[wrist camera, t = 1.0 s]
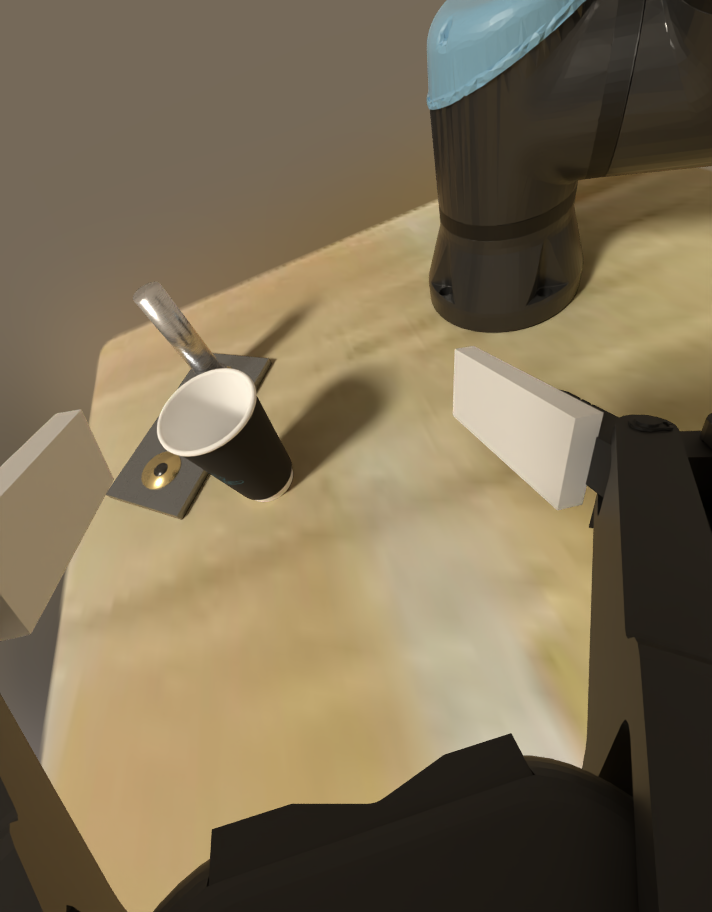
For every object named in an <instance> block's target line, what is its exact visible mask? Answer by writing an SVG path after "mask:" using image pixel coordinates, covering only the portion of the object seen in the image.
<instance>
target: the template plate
mask: <svg viewBox="0 0 712 912" xmlns="http://www.w3.org/2000/svg"><path fill="white" fill-rule="evenodd" d="M213 355H214V356H215V357H216V359H217V360H218V361H219V363H224V364H225V365H226V366H227V367H228V368H231V369H237V370H240V371H242V372H244V373H245V374H247V375H248V376H249V377H250V378H251V379H252V381H253V382H254V385H255V388H256V390H257V388H258V386H259V384H260V383H261V381H262V379H263V377H264V376H265V374H266V372H267V370H268V369H269V367H270V365H271V362H270V360H269V358H258V357H247V356H236V355H225V354H213ZM196 376H197V375H196V374H195V372H194V371H193V370H192V369H191V370H190V371H189V373H188V374H187V375H186V377H185V378H184V380H183V381H182V383H181V384H180V386H179V387H178V388H180V387H181V386H182V385H183V384H185V383H186V382H187V381H189V380H190V379H192V378H194V377H196ZM159 416H160V415H159ZM158 419H159V417H158V418H157V420H156V421H155V422H154V424H153V425H152V427H151V428H150V430H149V431H148V433H147V434H146V436H145V437H144V439H143V440H142V442H141V443H140V445H139V446H138V447H137V449H136V450H135V452H134V453H133V455H132V456H131V458H130V459H129V461H128V462H127V464H126V465H125V467H124V468H123V469H122V471H121V472H120V474H119V475H118V477H117V478H116V480H115V481H114V483H113V484H112V486H111V487H110V489H109V490H108V492H107V493H106V495H107V496H109V497H111V498H113V499H117V500H120V501H123V502H126V503H130V504H133V505H136V506H139V507H143V508H146V509H149V510H152V511H156V512H159V513H162V514H165V515H169V516H172V517H175V518H178V519H183V517H184V515H185V513H186V512H187V510H188V508H189V506H190V505H191V503H192V501H193V499H194V498H195V496H196V494H197V493H198V491H199V489H200V487H201V486H202V484H203V482H204V480H205V479H206V477H207V475H208V472H206V471H205V470H203V469H202V468H200V467H199V466H197V465H195V464H194V463H192V462H191V461H189V460H188V459H186V458H185V457H183V456H179V455H175V454H173V453H171V452H169V451H167V450H166V449H165V448H164V447H163V446H162V444H161V443H160V441H159V439H158V435H157V423H158Z"/></svg>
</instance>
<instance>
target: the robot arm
mask: <svg viewBox="0 0 712 912" xmlns="http://www.w3.org/2000/svg"><path fill="white" fill-rule="evenodd" d="M427 61H428V62H427V64H428V87H429V92H428V95H427V105H428V107H429V109H430V116H431V127H432V138H433V148H434V159H435V170H436V180H437V190H438V202H439V211H440V228H439V233H438V237H437V242H436V246H435V250H434V255H433V259H432V264H431V268H430V273H429V286H430V294H431V300H432V304H433V306H434V308H435V309H436V311H437V312H438V313H439V314H440V315H441V316H442V317H443V318H444V319H445V320H447V321H448V322H450V323H452V324H454V325H456V326H458V327H461V328H464V329H468V330H472V331H479V332H507V331H514V330H519V329H523V328H527V327H530V326H533V325H536V324H538V323H541V322H543V321H545V320H547V319H549V318H551V317H552V316H554V315H555V314H557V313H558V312H560V311H561V310H562V309H563V308H564V307H565V306H566V305H567V304H568V303H569V302H570V301H571V300H572V298H573V297H574V295H575V294H576V292H577V289H578V286H579V282H580V277H581V272H582V268H583V253H582V247H581V242H580V236H579V231H578V225H577V219H576V214H575V208H574V202H575V195H576V190H577V184H578V180H582V179H590V178H598V177H607V176H617V175H627V174H637V173H647V172H657V171H667V170H676V169H686V168H696V167H706V166H712V0H447V1H446V2H445V3H444V4H443V5H442V7H441V8H440V9H439V11H438V12H437V14H436V16H435V17H434V20H433V22H432V24H431V26H430V30H429V34H428V39H427ZM453 416H454V417H455V418H456V419H457V420H458V421H459V422H460V423H462V424H463V425H464V426H465V427H466V428H467V429H468V430H469V431H470V432H471V433H473V434H474V435H475V436H476V437H477V438H478V439H479V440H480V441H481V442H482V443H484V444H485V445H486V446H487V447H488V448H489V449H490V450H491V451H492V452H493V453H495V454H496V455H497V456H498V457H499V458H500V459H501V460H502V461H503V462H505V463H506V464H507V465H508V466H509V467H510V468H511V469H512V470H513V471H514V472H516V473H517V474H518V475H519V476H520V477H521V478H522V479H523V480H524V481H525V482H527V483H528V484H529V485H530V486H531V487H532V488H533V489H534V490H535V491H536V492H538V493H539V494H540V495H541V496H542V497H543V498H544V499H545V500H546V501H548V502H549V503H550V504H551V505H552V506H553V507H554V508H555V509H556V510H561V509H565V508H569V507H574V506H578V505H582V503H583V499H584V495H585V490H586V486H589V487H590V488H591V489H593V490H594V491H595V492H597V497H596V501H595V505H594V509H593V512H592V516H591V520H590V524H589V528H594V532H593V564H592V596H591V628H590V660H589V691H588V723H587V742H586V750H585V755H584V761H583V766H582V769H581V768H578V767H576V766H573V765H571V764H568V763H565V762H561V761H557V760H554V759H550V758H544V757H537V756H523V755H522V753H521V751H520V749H519V747H518V745H517V743H516V741H515V739H514V738H513V736H512V734H511V733H510V734H507V735H504V736H501V737H498V738H495V739H492V740H489V741H486V742H482V743H479V744H476V745H473V746H470V747H467V748H464V749H461V750H458V751H455V752H451V753H448V754H445V755H443V756H442V757H440V758H439V759H438V760H436V761H435V762H433V763H432V764H431V765H429V766H428V767H427V768H425V769H424V770H422V771H421V772H420V773H418V774H417V775H415V776H414V777H413V778H411V779H410V780H408V781H407V782H406V783H404V784H403V785H401V786H400V787H399V788H397V789H396V790H395V791H393V792H392V793H390V794H389V795H388V796H386V797H385V798H383V799H382V800H380V801H378V802H376V803H372V804H290V805H287V806H283V807H280V808H277V809H274V810H271V811H268V812H265V813H262V814H259V815H255V816H252V817H249V818H246V819H243V820H240V821H237V822H234V823H231V824H227V825H224V826H221V827H218V828H215V829H212V836H211V852H210V859H209V860H208V861H206V862H205V863H203V864H202V865H200V866H199V867H198V868H197V869H196V870H194V871H193V872H192V873H191V874H190V875H188V876H187V877H186V878H185V879H184V880H183V881H181V882H180V883H179V884H178V885H177V886H176V887H175V888H174V889H173V890H172V891H171V892H170V894H169V895H168V896H167V897H166V898H165V899H164V900H163V901H162V902H161V903H160V904H159V905H158V906H157V908H156V909H155V910H154V911H153V912H712V413H711V414H709V415H708V417H707V418H706V421H705V424H704V426H703V429H702V431H679V429H678V428H677V426H676V425H675V424H673V423H671V422H669V421H667V420H665V419H661V418H658V417H654V416H649V415H626V416H622V417H620V418H619V417H617V416H615V415H613V414H611V413H609V412H607V411H605V410H603V409H601V408H599V407H597V406H595V405H591V403H589V402H587V401H585V400H583V399H582V400H581V398H579V397H577V396H575V395H573V394H571V393H569V392H567V391H563V390H559V389H556V388H554V387H553V386H551V385H549V384H547V383H545V382H543V381H541V380H539V379H537V378H535V377H533V376H531V375H529V374H527V373H525V372H523V371H521V370H520V369H518V368H516V367H514V366H512V365H510V364H508V363H506V362H504V361H502V360H500V359H498V358H496V357H494V356H492V355H490V354H488V353H486V352H485V351H483V350H481V349H479V348H477V347H475V346H470V347H464V348H458V349H455V361H454V394H453ZM113 480H114V478H113V476H112V474H111V472H110V470H109V468H108V465H107V463H106V461H105V459H104V457H103V455H102V453H101V450H100V448H99V446H98V444H97V442H96V440H95V438H94V435H93V433H92V431H91V429H90V427H89V425H88V423H87V421H86V418H85V416H84V414H83V412H82V410H74V411H69V412H62V413H56V414H55V415H54V416H53V417H52V418H51V419H50V420H49V421H48V422H47V423H46V424H45V425H44V426H42V427H41V429H39V430H38V431H37V432H36V433H35V434H34V435H33V436H32V437H31V438H30V439H29V440H28V441H27V442H26V443H25V444H24V445H23V446H22V447H21V448H20V449H18V450H17V451H16V452H15V453H14V454H13V455H12V456H11V457H10V458H9V459H8V460H7V461H6V462H5V463H4V464H3V465H2V466H1V467H0V641H4V640H8V639H13V638H17V637H21V636H25V635H29V634H31V633H32V631H33V629H34V627H35V626H36V624H37V622H38V620H39V618H40V616H41V614H42V613H43V611H44V609H45V607H46V605H47V603H48V601H49V599H50V597H51V596H52V594H53V592H54V590H55V588H56V586H57V585H58V583H59V581H60V579H61V577H62V575H63V573H64V572H65V570H66V568H67V566H68V564H69V562H70V560H71V558H72V557H73V555H74V553H75V551H76V549H77V547H78V545H79V544H80V542H81V540H82V538H83V536H84V534H85V532H86V531H87V529H88V527H89V525H90V523H91V521H92V519H93V517H94V516H95V514H96V512H97V510H98V508H99V506H100V504H101V503H102V501H103V499H104V497H105V495H106V493H107V491H108V489H109V488H110V486H111V484H112V482H113ZM0 912H127V911H126V910H125V908H124V907H123V906H122V904H121V903H120V901H119V900H118V899H117V897H116V895H115V894H114V892H113V891H112V889H111V887H110V885H109V884H108V882H107V880H106V878H105V877H104V875H103V873H102V871H101V870H100V868H99V866H98V864H97V863H96V861H95V859H94V857H93V856H92V854H91V852H90V850H89V849H88V847H87V845H86V843H85V842H84V840H83V838H82V836H81V834H80V833H79V831H78V829H77V827H76V826H75V824H74V822H73V820H72V819H71V817H70V815H69V813H68V812H67V810H66V808H65V806H64V805H63V803H62V801H61V799H60V798H59V796H58V794H57V792H56V791H55V789H54V787H53V785H52V784H51V782H50V780H49V778H48V776H47V775H46V773H45V771H44V769H43V768H42V766H41V764H40V763H39V761H38V759H37V757H36V755H35V754H34V752H33V750H32V748H31V747H30V745H29V743H28V742H27V740H26V738H25V736H24V734H23V733H22V731H21V729H20V727H19V726H18V724H17V722H16V720H15V718H14V717H13V715H12V713H11V711H10V710H9V708H8V706H7V704H6V703H5V701H4V699H3V697H2V696H1V694H0Z"/></svg>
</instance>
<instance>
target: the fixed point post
mask: <svg viewBox="0 0 712 912" xmlns="http://www.w3.org/2000/svg"><path fill="white" fill-rule="evenodd" d="M133 300H134V302H135V303H136V304H137V305H138V306H139V307H140V309H141V310H142V311H143V312H144V313H145V314H146V316H148V318H149V319H150V320H151V322H152V323H153V324H154V325H155V326H156V328H157V329H158V330H159V331H160V332H161V333H162V335H163V336H164V337H165V338H166V339H167V341H168V342H169V343H170V344H171V345H172V346H173V348H174V349H175V350H176V351H177V352H178V354H179V355H180V356H181V357H182V358H183V359H184V361H185V362H186V363H187V364H188V365H189V367H190V368H191V369H192V370H193V371H194V372H195V374H196V375H200V374H202V373H204V372H207V371H210V370H214V369H221V368H228V367H227V366H226V365H225V364H224V363H219V361H218V360H217V359H216V357H215V356H214V355H213V353H212V352H211V351H210V349H209V348H208V347H207V345H206V344H205V343H204V341H203V340H202V339H201V337H200V336H199V335H198V333H197V332H196V331H195V329H194V328H193V327H192V325H191V324H190V323H189V321H188V320H187V319H186V317H185V316H184V315H183V313H182V312H181V311H180V310H179V308H178V307H177V306H176V304H175V303H174V302H173V300H172V299H171V298H170V296H169V295H168V294H167V292H166V291H165V290H164V288H163V287H162V286H161V285H160V283H158V282H151V283H148V284H146V285H144V286H142V287H141V288H140V289H138V291H137V292H136V293H135V294H134V296H133Z"/></svg>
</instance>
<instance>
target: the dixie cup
mask: <svg viewBox="0 0 712 912" xmlns="http://www.w3.org/2000/svg"><path fill="white" fill-rule="evenodd" d="M157 435H158V439H159V441H160V443H161V444H162V446H163V447H164V448H165V449H166V450H167V451H169V452H171V453H173V454H175V455H179V456H183V457H185V458H186V459H188V460H189V461H191V462H192V463H194V464H195V465H197V466H199V467H200V468H202V469H203V470H205V471H206V472H208V473H209V474H211V475H213V476H214V477H216V478H217V479H219V480H220V481H222V482H223V483H225V484H227V485H228V486H230V487H231V488H233V489H234V490H236V491H237V492H239V493H240V494H242V495H244V496H245V497H247V498H249V499H252V500H256V501H259V502H269V501H272V500H275V499H277V498H279V497H280V496H281V495H283V494H284V493H285V492H286V491H287V489H288V488H289V486H290V484H291V482H292V479H293V470H292V464H291V460H290V458H289V456H288V454H287V452H286V450H285V448H284V447H283V445H282V443H281V441H280V439H279V437H278V435H277V433H276V431H275V429H274V428H273V426H272V424H271V422H270V420H269V418H268V416H267V414H266V412H265V410H264V409H263V407H262V405H261V403H260V401H259V399H258V397H257V393H256V388H255V385H254V382H253V381H252V379H251V378H250V377H249V376H248V375H247V374H245V373H244V372H242V371H240V370H237V369H231V368H221V369H214V370H210V371H207V372H204V373H202V374H200V375H197V376H196V377H194V378H192V379H190V380H189V381H187V382H186V383H185V384H183V385H182V386H181V387H180V388H178V389H177V390H176V391H175V392H174V393H173V394H172V396H171V397H170V398H169V399H168V401H167V402H166V404H165V405H164V407H163V409H162V411H161V413H160V416H159V419H158V423H157Z"/></svg>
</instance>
